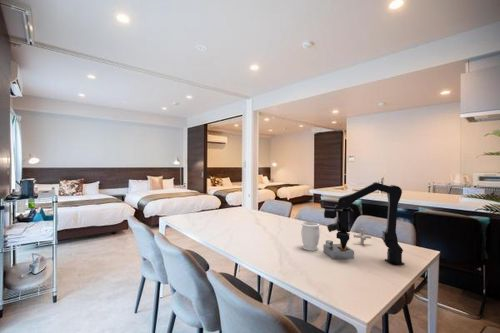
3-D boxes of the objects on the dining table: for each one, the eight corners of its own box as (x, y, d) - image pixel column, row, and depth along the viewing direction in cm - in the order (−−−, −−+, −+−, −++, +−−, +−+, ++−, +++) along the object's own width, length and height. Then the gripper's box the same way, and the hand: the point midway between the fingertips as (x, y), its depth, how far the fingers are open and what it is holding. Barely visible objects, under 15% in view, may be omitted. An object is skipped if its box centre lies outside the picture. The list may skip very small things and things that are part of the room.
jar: (306, 252, 137) (306, 226, 137) (298, 246, 147) (298, 222, 147) (322, 250, 139) (323, 225, 140) (313, 245, 149) (313, 221, 150)
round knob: (348, 252, 130) (348, 238, 130) (341, 253, 130) (341, 238, 130) (344, 250, 134) (344, 236, 134) (338, 250, 133) (338, 236, 133)
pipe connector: (373, 247, 146) (373, 231, 146) (355, 246, 148) (355, 230, 148) (368, 242, 156) (368, 227, 156) (352, 241, 158) (352, 226, 158)
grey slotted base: (354, 258, 128) (354, 246, 128) (332, 259, 127) (332, 246, 127) (343, 250, 140) (343, 239, 140) (323, 251, 139) (323, 240, 139)
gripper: (329, 215, 143) (329, 241, 143) (326, 221, 126) (326, 251, 126) (350, 216, 139) (349, 243, 139) (349, 223, 122) (349, 254, 122)
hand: (343, 247), depth 132 cm, fingers closed on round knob, 3 cm apart
